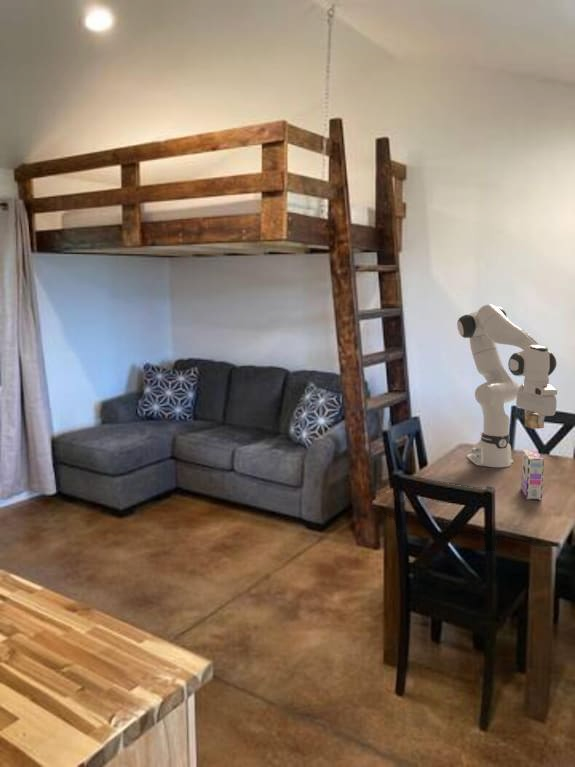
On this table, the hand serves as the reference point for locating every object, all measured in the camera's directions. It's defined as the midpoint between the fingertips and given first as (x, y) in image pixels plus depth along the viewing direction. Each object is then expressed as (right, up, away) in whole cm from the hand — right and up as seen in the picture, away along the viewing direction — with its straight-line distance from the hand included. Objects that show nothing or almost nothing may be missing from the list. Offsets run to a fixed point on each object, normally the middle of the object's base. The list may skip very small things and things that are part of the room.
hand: (534, 422), depth 241 cm
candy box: (0, -29, +4) cm, 29 cm away
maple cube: (0, -2, 0) cm, 2 cm away
